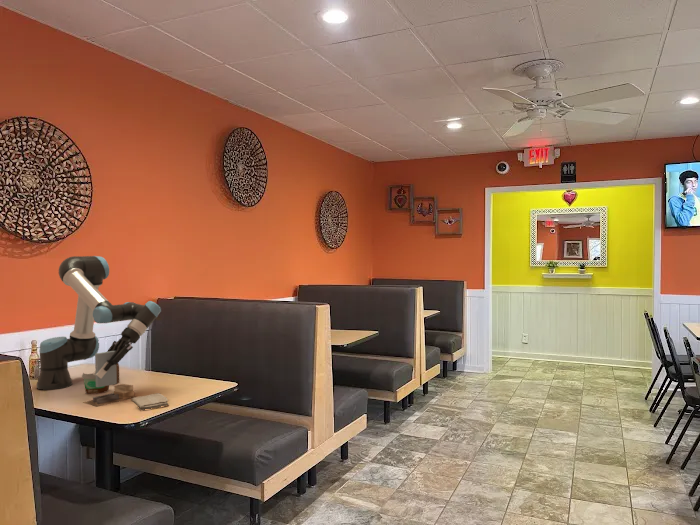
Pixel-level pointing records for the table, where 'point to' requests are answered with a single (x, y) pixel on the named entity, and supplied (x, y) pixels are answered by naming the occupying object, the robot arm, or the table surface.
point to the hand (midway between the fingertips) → (97, 376)
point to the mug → (117, 372)
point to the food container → (92, 384)
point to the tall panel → (111, 374)
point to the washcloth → (150, 401)
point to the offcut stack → (124, 391)
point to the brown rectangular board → (105, 400)
